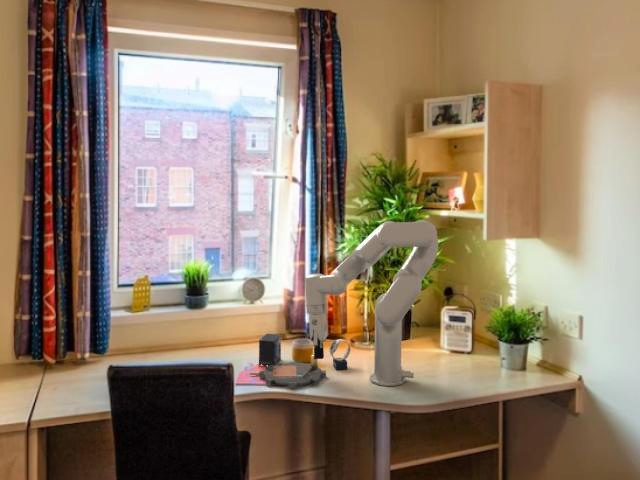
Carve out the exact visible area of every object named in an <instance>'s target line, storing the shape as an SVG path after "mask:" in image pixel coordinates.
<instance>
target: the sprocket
mask: <svg viewBox="0 0 640 480" xmlns="http://www.w3.org/2000/svg"><path fill="white" fill-rule="evenodd" d="M259 372H260V373H259V376H258V378H261V379H262V378H263V380H265V384H266V385H269V386H272V385H274V386H278V387H287V388H288V389H289V388H292V389H294V388H295V389H296V388H297V387H305V386H306V387H307V386H309V385H313V386H315V385H318V384H320V381H321V380H322V378H326V377H327V370H322V369H321V368H320V367H319V365H318V359H315V358H314V353H312V354H310V363H305V362H297V361H289V362H282V363H277V364H276V365H274V364H272V365H268V367H266V368H265V369H264V370H259Z"/></svg>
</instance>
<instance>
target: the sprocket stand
mask: <svg viewBox="0 0 640 480" xmlns="http://www.w3.org/2000/svg"><path fill="white" fill-rule="evenodd" d="M259 373H260V371H253V370H252V371H250V372H249V376H250V375H259Z"/></svg>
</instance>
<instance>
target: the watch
mask: <svg viewBox="0 0 640 480" xmlns="http://www.w3.org/2000/svg"><path fill="white" fill-rule="evenodd" d="M342 342H343V343H346V344H347V349H346V352H345V353H344V355H343V357H335V356H334V354H335V352H336V351H337V350H338V348H339V344H341V343H342ZM328 350H329V351H328V352H329V354H330V356H331V357H332V367H333V369H334V370H335V371H346V370H348V361H347V358H349V356H350V354H351V346H350V344H349V342H348V341H347V340H345V339H344V338H343V339H342V338H339V339H335V340H333V341H332V342H331V345H330V347H329V349H328Z"/></svg>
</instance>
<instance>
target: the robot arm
mask: <svg viewBox="0 0 640 480" xmlns="http://www.w3.org/2000/svg"><path fill="white" fill-rule="evenodd" d="M437 232H438V231H437V227H436V226H435V225H434V224H433V223H431V222H429V220H425V219H419V220H417V221H407V222H404V221H403V222H402V221H399V222H398V221H392V220H386V221H383V222H382V223H381V224H380V225H378V227H376V228H375V230H373V231H372V232H371V233H370V234H369V235H368V236H367V237H366V238H365V239H364V240H363V241H362V242H360V243H359V245H357V247H355V249H354V250H353V251H352V252H351V253H350V254H349V255H348V256H347V257H346V258H345V259H344V260H343V261H342V262H341V263H340V264H339V265H338V266H337V267H336V268H335V269H334V270H333V271H332V272H330V274H328V275H325V274H322V273H310V274H307V275H306V276H305V277H304V285H305V286H304V288H305V308H306V314H308V318H309V319H308V323H309V327H308V329H309V340H310V342H313V354H314V358H315V359H317V360H323V359H324V357H325V354H324V341H326V339H327V337H328V323H327V314H326V313H328V300H327V299H328V296H327V295H329V296H340V295H342V294H344V293H345V292H346V290H347V287H348V286H349V284H350V283H351V282H352V281H353V280H355V278H357V277H358V276H359V275H360V274H361V273H362V272H364V271H365V270H367V269H369V268H371V267H373V266H374V265H375V264H376V263H377V262H378V261H379V260H380V259H381V258H382V257H383V256H384V255H385V254H386V253H388V251H389V250H391V249H392V248H412V251H411V252H410V254H409V255H408V257H407V258H406V260H405V262H404V263H403V264H402V266H401V267H400V269H398V271H397V272H396V273H395V275H394V276H393V279H392V284H391V285H390V287H389V288H388V289H387V291H386V292H384V293H382V294H381V295H379V296H378V297H377V299H376V300H375V303H374V372H373V373H372V374H370V376H369V381H370V382H371V383H373V384H375V385H379V386H386V387H394V386H395V387H396V386H400V385H403V384H405V382H406V378H407V379H414V373H415V372H412V371H411V370H404V369H403V366H402V338H403V336H402V335H403V334H402V333H403V328H402V327H403V321H402V320H403V319H404V317H405V315H406V314H407V313H408V311H410V310H411V307H412V306H413V305H414V303H415V302H416V301H417V299H418V297H419V296H420V294H421V291H422V288H423V286H422V285H423V283H422V281H423V280H424V278H425V277H426V275H427V274H428V272H429V271H430V270H431V267H432V266H433V265H434V263H435V261H436V258H437V256H438V252H439V240H438V237H437V236H438V233H437Z"/></svg>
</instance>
